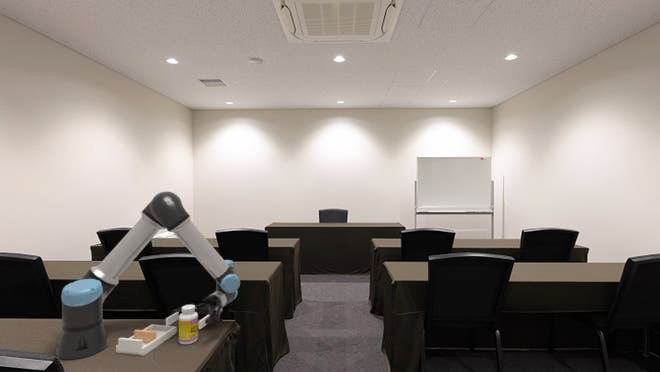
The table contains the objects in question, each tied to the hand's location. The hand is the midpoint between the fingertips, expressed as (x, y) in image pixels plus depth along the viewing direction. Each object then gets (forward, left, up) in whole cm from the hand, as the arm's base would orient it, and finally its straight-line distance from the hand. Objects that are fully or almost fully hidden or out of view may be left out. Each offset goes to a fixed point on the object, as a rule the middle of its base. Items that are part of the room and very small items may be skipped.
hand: (182, 324), depth 126 cm
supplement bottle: (0, +3, -8) cm, 9 cm away
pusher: (-14, -2, -7) cm, 16 cm away
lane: (-14, -1, -8) cm, 16 cm away
